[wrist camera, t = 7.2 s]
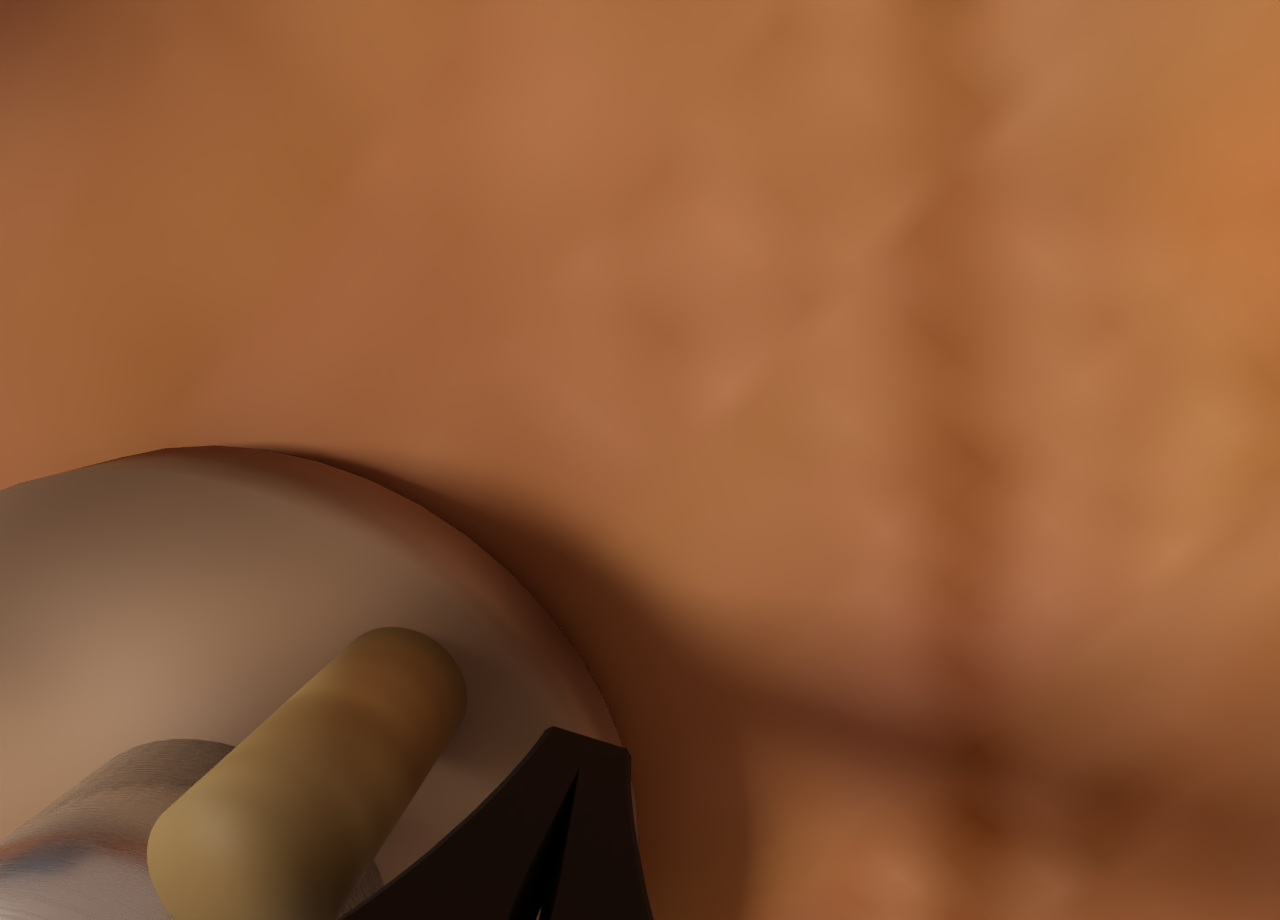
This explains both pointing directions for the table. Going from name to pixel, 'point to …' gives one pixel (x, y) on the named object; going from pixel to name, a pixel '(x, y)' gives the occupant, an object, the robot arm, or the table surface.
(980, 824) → the table surface
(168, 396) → the table surface
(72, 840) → the cover
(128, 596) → the tan bowl
